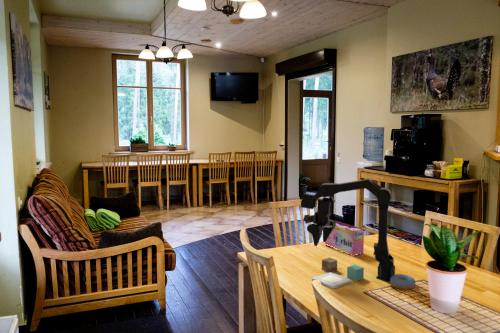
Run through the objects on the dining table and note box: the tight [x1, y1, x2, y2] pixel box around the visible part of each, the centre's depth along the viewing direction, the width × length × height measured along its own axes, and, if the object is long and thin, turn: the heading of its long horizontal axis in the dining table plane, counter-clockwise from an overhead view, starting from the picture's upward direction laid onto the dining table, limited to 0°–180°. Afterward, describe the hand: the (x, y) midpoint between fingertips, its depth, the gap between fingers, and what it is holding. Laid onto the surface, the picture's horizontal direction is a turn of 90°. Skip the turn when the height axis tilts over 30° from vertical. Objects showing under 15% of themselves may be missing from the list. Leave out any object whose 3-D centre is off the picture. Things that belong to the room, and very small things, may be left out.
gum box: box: [324, 220, 365, 255], centre depth 219 cm, size 24×8×14 cm, turn 30°
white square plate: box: [311, 272, 353, 290], centre depth 172 cm, size 12×12×1 cm
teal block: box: [346, 264, 365, 282], centre depth 176 cm, size 5×5×5 cm
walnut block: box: [321, 257, 338, 273], centre depth 186 cm, size 5×5×5 cm
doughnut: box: [390, 273, 417, 291], centre depth 166 cm, size 10×10×5 cm
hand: (320, 243), depth 184 cm, fingers open, 9 cm apart
